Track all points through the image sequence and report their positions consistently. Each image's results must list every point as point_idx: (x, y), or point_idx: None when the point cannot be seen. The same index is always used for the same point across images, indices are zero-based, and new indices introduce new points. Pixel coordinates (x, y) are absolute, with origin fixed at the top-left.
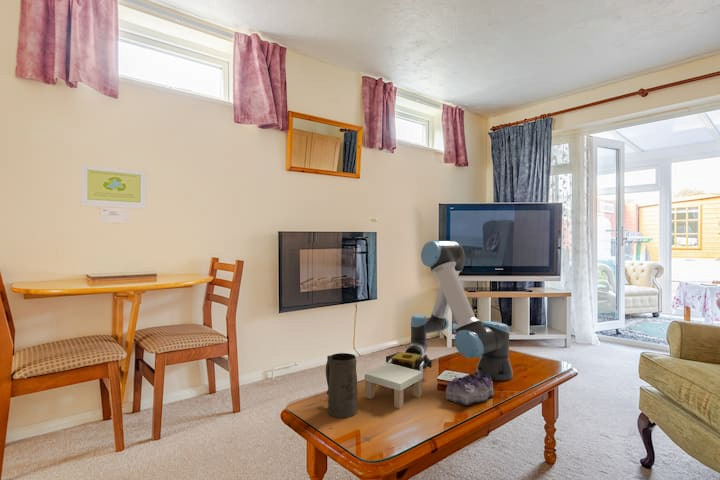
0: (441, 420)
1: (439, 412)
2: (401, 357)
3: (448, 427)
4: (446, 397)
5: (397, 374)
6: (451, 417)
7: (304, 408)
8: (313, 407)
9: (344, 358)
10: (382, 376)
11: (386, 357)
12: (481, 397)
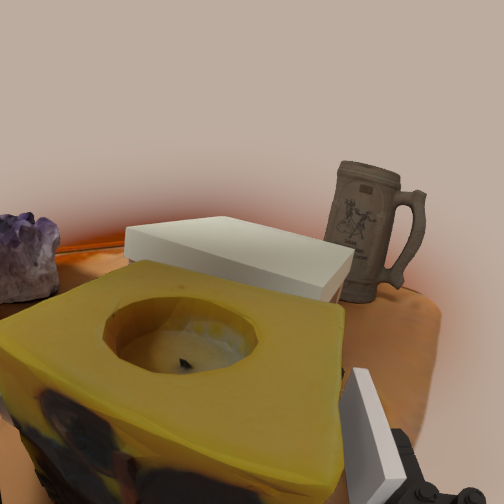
0: (122, 257)
1: (112, 269)
2: (251, 308)
3: (119, 247)
4: (58, 282)
5: (240, 232)
6: (95, 258)
7: (411, 297)
8: (401, 299)
9: (383, 182)
10: (289, 235)
11: (468, 492)
12: None
